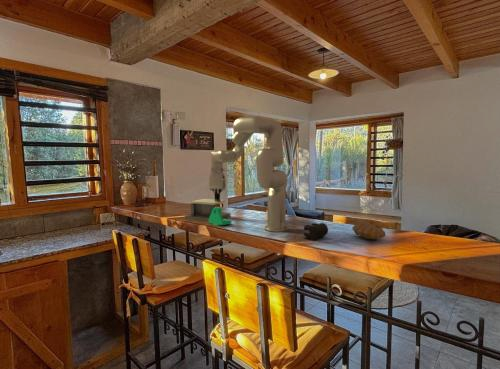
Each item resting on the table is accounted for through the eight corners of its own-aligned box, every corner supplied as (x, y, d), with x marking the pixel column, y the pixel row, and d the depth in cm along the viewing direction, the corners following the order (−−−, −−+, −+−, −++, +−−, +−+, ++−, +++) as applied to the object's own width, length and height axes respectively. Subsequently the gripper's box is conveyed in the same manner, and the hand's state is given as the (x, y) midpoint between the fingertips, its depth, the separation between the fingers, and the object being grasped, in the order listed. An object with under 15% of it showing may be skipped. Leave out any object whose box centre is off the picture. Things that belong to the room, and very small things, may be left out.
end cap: (316, 242, 124) (317, 227, 124) (303, 239, 129) (303, 224, 129) (328, 238, 131) (328, 223, 131) (315, 235, 136) (315, 221, 136)
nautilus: (362, 232, 144) (394, 238, 134) (345, 237, 128) (379, 245, 118) (364, 216, 144) (396, 222, 134) (346, 220, 128) (381, 227, 118)
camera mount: (232, 224, 161) (231, 207, 161) (222, 227, 156) (221, 208, 155) (218, 222, 170) (218, 205, 169) (208, 224, 164) (208, 206, 163)
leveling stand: (230, 216, 187) (230, 201, 187) (214, 221, 169) (213, 205, 169) (202, 213, 197) (202, 200, 196) (184, 219, 179) (184, 203, 178)
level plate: (225, 202, 185) (225, 198, 184) (214, 204, 172) (214, 200, 172) (203, 200, 192) (203, 197, 192) (191, 203, 179) (191, 199, 179)
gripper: (230, 170, 178) (230, 199, 179) (210, 170, 184) (210, 198, 186) (224, 170, 171) (224, 200, 173) (203, 170, 178) (204, 199, 179)
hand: (217, 199), depth 179 cm, fingers closed
